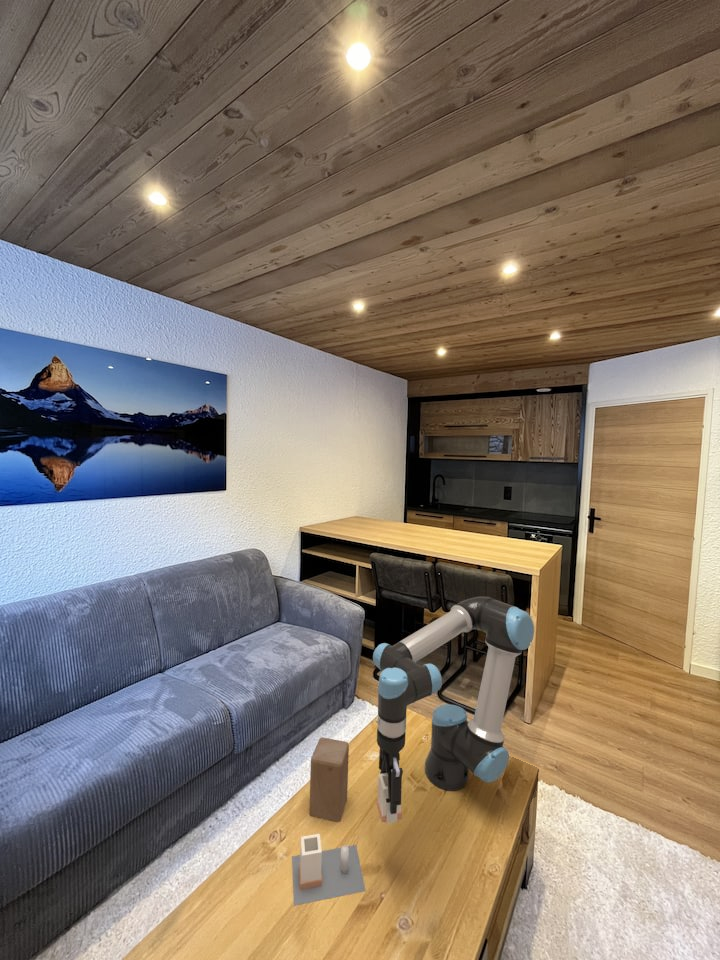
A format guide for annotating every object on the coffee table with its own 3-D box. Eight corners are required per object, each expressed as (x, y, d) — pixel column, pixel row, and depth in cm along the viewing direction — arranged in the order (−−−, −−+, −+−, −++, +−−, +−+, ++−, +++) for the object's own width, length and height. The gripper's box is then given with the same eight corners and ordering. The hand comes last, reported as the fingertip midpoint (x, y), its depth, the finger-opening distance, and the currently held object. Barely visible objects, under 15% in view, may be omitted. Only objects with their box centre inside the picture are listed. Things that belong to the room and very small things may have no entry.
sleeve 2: (395, 801, 111) (396, 770, 110) (401, 819, 105) (402, 787, 105) (376, 804, 110) (377, 773, 109) (381, 822, 104) (382, 790, 103)
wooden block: (340, 827, 119) (342, 764, 118) (308, 820, 121) (309, 758, 120) (347, 799, 129) (349, 740, 128) (318, 792, 131) (319, 735, 130)
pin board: (356, 849, 113) (356, 825, 112) (365, 896, 101) (366, 869, 101) (291, 861, 109) (292, 836, 109) (293, 911, 97) (294, 882, 97)
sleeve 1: (319, 863, 107) (320, 832, 107) (321, 885, 102) (322, 853, 101) (299, 867, 106) (299, 836, 106) (300, 889, 101) (301, 856, 100)
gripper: (369, 708, 114) (367, 784, 116) (387, 757, 96) (384, 846, 98) (394, 705, 115) (391, 780, 117) (416, 753, 97) (413, 841, 99)
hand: (388, 810), depth 107 cm, fingers closed on sleeve 2, 5 cm apart
